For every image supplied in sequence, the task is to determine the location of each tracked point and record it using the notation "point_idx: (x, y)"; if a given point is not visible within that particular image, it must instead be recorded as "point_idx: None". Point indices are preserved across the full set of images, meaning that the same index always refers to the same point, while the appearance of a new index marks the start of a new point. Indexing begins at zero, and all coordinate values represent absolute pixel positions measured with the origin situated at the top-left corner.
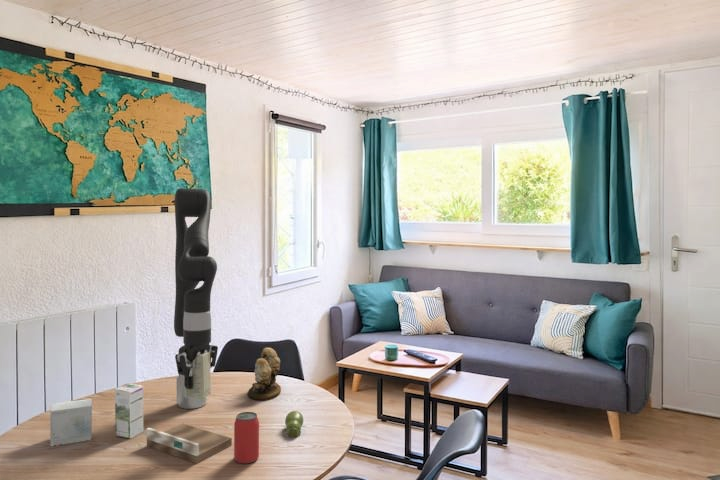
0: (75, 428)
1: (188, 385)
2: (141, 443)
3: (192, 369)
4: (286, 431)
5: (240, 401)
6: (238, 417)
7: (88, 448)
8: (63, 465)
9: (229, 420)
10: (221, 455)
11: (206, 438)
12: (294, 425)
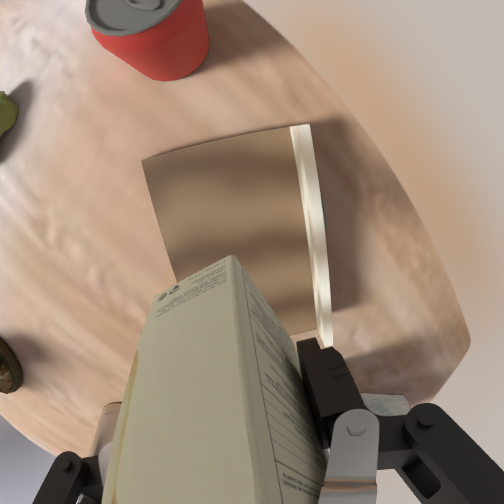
0: (390, 411)
1: (338, 358)
2: (318, 334)
3: (349, 470)
4: (10, 120)
5: (39, 368)
6: (168, 4)
7: (385, 366)
8: (441, 327)
9: (82, 309)
10: (210, 116)
11: (203, 217)
12: None
